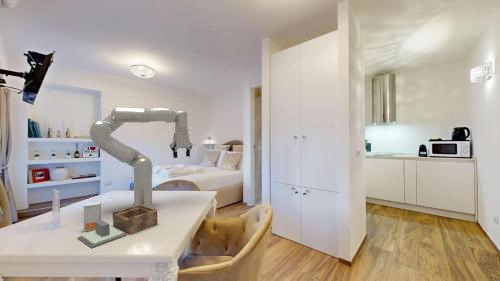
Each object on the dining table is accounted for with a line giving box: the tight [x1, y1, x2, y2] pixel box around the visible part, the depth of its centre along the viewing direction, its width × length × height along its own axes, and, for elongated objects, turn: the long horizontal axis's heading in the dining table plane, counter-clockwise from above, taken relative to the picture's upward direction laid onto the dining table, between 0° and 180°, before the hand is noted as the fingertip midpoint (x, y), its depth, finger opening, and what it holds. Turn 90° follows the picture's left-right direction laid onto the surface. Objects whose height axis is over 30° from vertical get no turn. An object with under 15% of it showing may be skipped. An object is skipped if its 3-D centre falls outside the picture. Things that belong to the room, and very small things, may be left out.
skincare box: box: [83, 201, 102, 233], centre depth 97 cm, size 6×4×12 cm
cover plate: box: [80, 220, 125, 246], centre depth 89 cm, size 11×13×6 cm
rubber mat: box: [76, 232, 128, 249], centre depth 89 cm, size 15×13×1 cm
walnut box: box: [112, 205, 158, 236], centre depth 101 cm, size 13×16×7 cm
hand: (181, 157), depth 133 cm, fingers open, 9 cm apart
